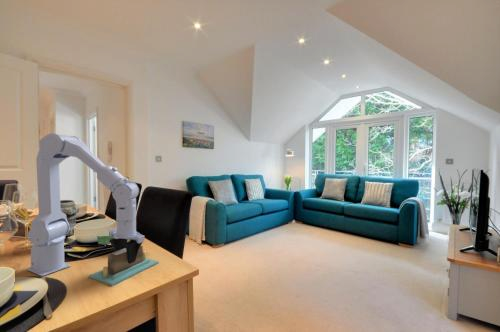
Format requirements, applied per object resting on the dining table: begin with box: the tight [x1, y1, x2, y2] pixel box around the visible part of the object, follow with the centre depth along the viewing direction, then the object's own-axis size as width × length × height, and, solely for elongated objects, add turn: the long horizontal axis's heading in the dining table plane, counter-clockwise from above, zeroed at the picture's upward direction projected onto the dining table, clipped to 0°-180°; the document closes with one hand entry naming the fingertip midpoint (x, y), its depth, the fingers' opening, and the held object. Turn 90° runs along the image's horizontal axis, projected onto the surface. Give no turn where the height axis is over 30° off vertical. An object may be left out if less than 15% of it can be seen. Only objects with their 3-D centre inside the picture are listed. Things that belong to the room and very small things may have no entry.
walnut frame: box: [107, 245, 144, 275], centre depth 78 cm, size 4×10×6 cm, turn 154°
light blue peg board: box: [88, 250, 159, 287], centre depth 78 cm, size 11×17×4 cm, turn 154°
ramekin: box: [96, 235, 113, 245], centre depth 102 cm, size 9×9×4 cm
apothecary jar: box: [60, 199, 80, 243], centre depth 100 cm, size 12×12×18 cm
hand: (126, 260), depth 78 cm, fingers open, 5 cm apart
